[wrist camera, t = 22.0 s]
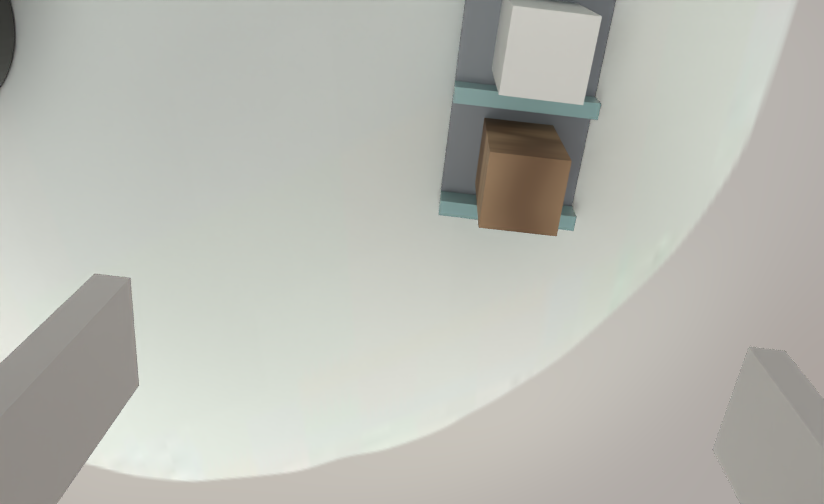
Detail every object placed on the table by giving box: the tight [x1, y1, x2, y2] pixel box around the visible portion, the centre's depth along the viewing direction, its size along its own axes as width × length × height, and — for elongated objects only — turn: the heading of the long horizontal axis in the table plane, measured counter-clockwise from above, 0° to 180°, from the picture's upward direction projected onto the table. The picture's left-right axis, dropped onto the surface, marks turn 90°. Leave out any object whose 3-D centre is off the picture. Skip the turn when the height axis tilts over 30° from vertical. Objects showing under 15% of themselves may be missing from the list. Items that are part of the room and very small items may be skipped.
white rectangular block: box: [492, 0, 602, 105], centre depth 40 cm, size 4×4×8 cm
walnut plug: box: [475, 118, 572, 236], centre depth 43 cm, size 4×4×8 cm
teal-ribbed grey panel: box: [439, 0, 616, 231], centre depth 44 cm, size 9×16×3 cm, turn 174°
